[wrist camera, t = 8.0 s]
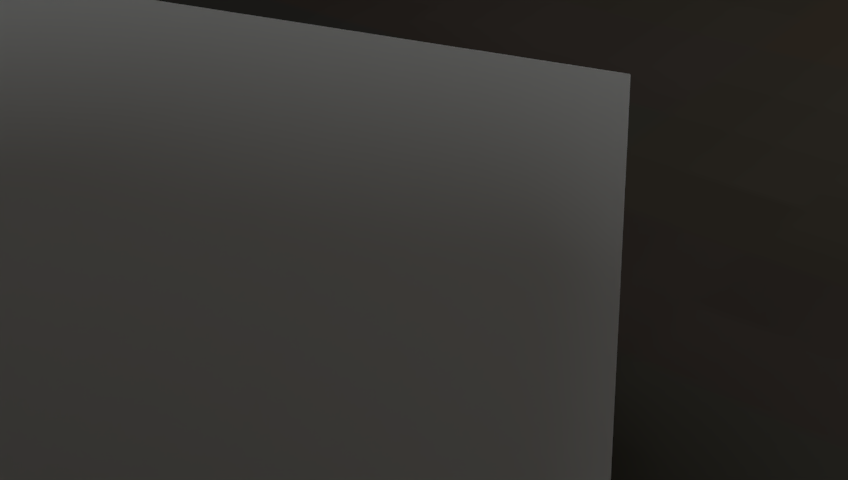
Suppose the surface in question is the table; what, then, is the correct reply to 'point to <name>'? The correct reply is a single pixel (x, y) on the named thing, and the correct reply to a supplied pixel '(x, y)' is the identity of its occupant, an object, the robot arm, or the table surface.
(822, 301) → the table surface
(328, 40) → the tall grey block
